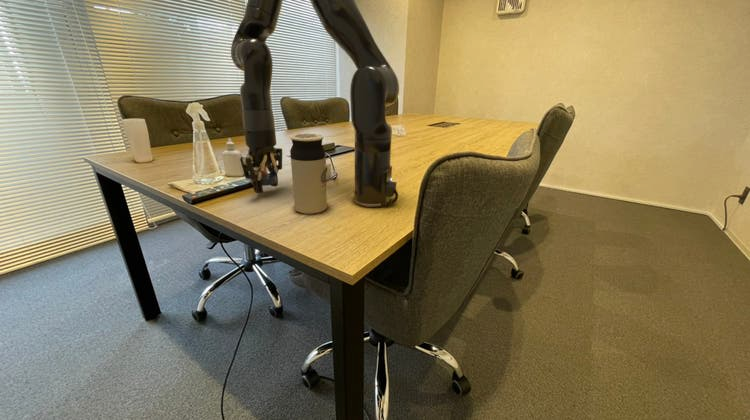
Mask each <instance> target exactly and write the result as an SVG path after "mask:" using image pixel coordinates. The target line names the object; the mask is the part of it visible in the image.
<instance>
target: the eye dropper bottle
mask: <svg viewBox="0 0 750 420" xmlns="http://www.w3.org/2000/svg"><path fill="white" fill-rule="evenodd" d="M225 145H226V150H224V151H223V152H222V155H221V156H222V161H223V166H224V167H223V168H224V172H225V173H224V174H225V176H227V177H232V178H233V177H236V178H237V177H242V176H245V175H244V171H243V168H242V164H241V161H240V158H241V157H243V156H242V155H243V154H242V152H241V151H240V150H237V149H236V144H235V142H233V141H232V138H231V137H229V138H228V139H227V142H226V143H225Z"/></svg>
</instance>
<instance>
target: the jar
mask: <svg viewBox="0 0 750 420" xmlns="http://www.w3.org/2000/svg"><path fill="white" fill-rule="evenodd" d="M248 155H249V148H247V153H246V156H248ZM256 168H259V167H257V166H256ZM263 173H269V171H268V169H267V167H266V166H265V167H264V171H263V172H262V174H263ZM249 174H250V172H249ZM256 175H257V171H256ZM249 180H251V181H250V185H252V186H253V182H252V179H249Z"/></svg>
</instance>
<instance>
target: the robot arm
mask: <svg viewBox="0 0 750 420" xmlns="http://www.w3.org/2000/svg"><path fill="white" fill-rule="evenodd" d="M283 1H284V0H247V2H246V6H245V9H244V15H243V18H242V20H241V22H240V24H239V25H238V28H237V30H236V32H235V34H234V37H233V40H232V42H231V48H230V57H231V60H232V63H233V64H234V66H235V67H236V68H237V69H238V70H241V71H243V83H242V84H241V85H240V88H239V92H240V94H239V95H240V102H241V109H242V114H241V115H242V124H243V132H244V141H245V145H246V146H247V148H248V149H249V155H248V156H247V155H246V156H242V157H241V158H240V161H241V164H242V168H243V171H244V175H243V176H244V178H245V179H247V180H250V179H252V181H253V185H252V189H253V191H254V192H255V193H256V194H262V193H264V188H263V187H264V186H263V185H262V180H261V175H262V172H263V171H264V167H265V166H266V167H267V172H268V173H271V174H275V175H276V178H277V181H276V183H274V184H271V185H270V186H271V187H278V185H279V177H278V173H279V172H280V170H282V169H283V148H280V147H275V146H276V145H277V134H276V124H275V118H274V113H273V112H274V111H273V104H272V96H271V86H272V78H273V67H274V64H273V56H272V52H271V50H270V48H269V46H268V44H267V43H266V42H267V40H268V38H269V37H270V36H271V35H273V34H274V33H275V31H276V29H277V25H278V21H279V18H280V14H281V10H282V7H283ZM309 3H310V4H311V6H312V9H313V10H314V12H315V14H316V16H317V18H318V20H319V21H320V24H321V25H322V27H323V29H324V30H325V32H326V33H327V34H328V35H329V37H330V38H331V39H332V40H333V41H334V42H335V44H336V45H338V47H340V49H341V50H343V51H344V53H345V54H346V55H347V56H348V57H349V58H350V60H351V61H352V63H353V64H354V65H355V67H356V70H355V72H354V73H353V75H352V78H351V81H350V89H349V95H350V96H349V98H350V100H349V101H350V119H351V125H352V127H353V130H354V190H353V195H354V197H353V202H354V203H355V204H357V205H358V206H362V207H365V208H366V207H367V208H379V207H383V208H384V207H386V206H387V205H388V204H389V202H390V201H391V204H392V205H395V203H396V202H397V201H398V198H399V193H398V191H397V181H393V178H392V175H393V173H392V172H393V166H392V165H391V153H392V137H393V127H392V125H390V123H388V121H387V118H386V117H387V116H386V107H389V106H392V105H393V104H394V103H395V102H396V101H397V99H398V97H399V95H400V83H399V79H398V76H397V74H396V73H395V70H394V69H393V68H392V66H391V64H390V63H389V61H388V60H387V59H386V57H385V55H384V54H383V53H382V51H381V49H380V48H379V46H378V45H377V43H376V41H375V38H374V37H373V35H372V33H371V30H370V29H369V25H368V24H367V23H366V21H365V18H364V17H363V15H362V13H361V10H360V8H359V6H358V4H357V2H356V0H309ZM256 166H257V167H259V168H256ZM256 171H257V175H256ZM249 172H250V174H249ZM393 197H394V198H393ZM391 198H393V200H391Z"/></svg>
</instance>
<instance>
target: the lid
mask: <svg viewBox="0 0 750 420" xmlns="http://www.w3.org/2000/svg"><path fill="white" fill-rule="evenodd" d="M261 180H262V186H271V184H274V183H276V181H277V178H276V175H275V174H271V173H270V172H268V173H263V174H262V175H261Z"/></svg>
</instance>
